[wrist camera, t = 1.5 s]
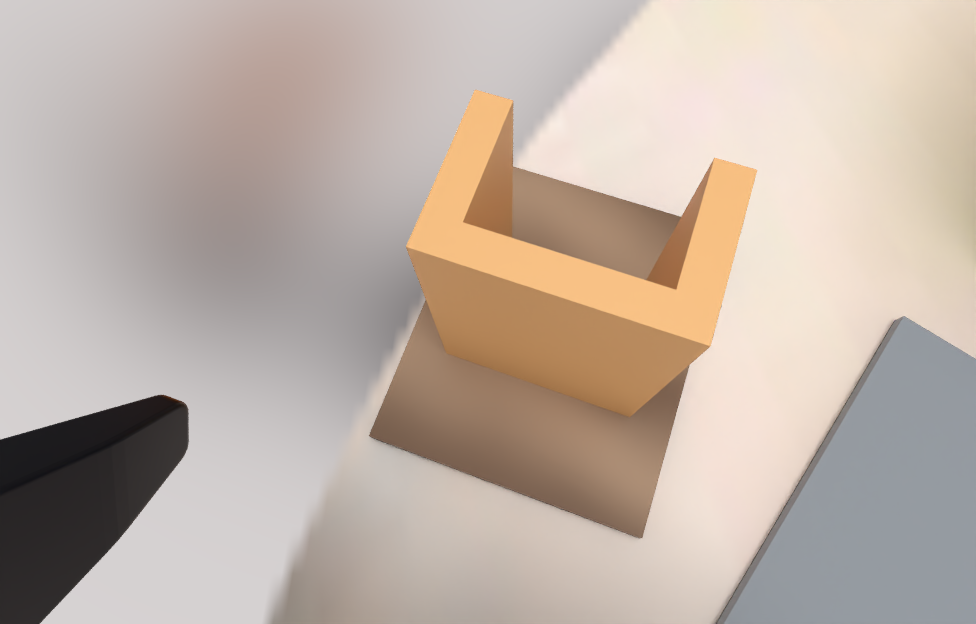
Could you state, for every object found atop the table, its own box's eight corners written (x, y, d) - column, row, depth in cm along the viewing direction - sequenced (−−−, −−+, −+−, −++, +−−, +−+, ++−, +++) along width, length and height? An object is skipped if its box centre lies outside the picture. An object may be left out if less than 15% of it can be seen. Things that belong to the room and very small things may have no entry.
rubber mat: (1068, 938, 18) (1086, 952, 17) (700, 651, 20) (705, 654, 20) (1229, 523, 21) (1249, 523, 21) (894, 321, 24) (904, 316, 23)
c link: (629, 417, 22) (710, 346, 13) (446, 353, 23) (406, 246, 14) (663, 304, 24) (757, 169, 15) (488, 248, 25) (475, 89, 16)
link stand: (638, 537, 22) (666, 540, 18) (372, 437, 23) (344, 420, 19) (721, 237, 25) (759, 184, 21) (485, 166, 26) (481, 104, 23)
